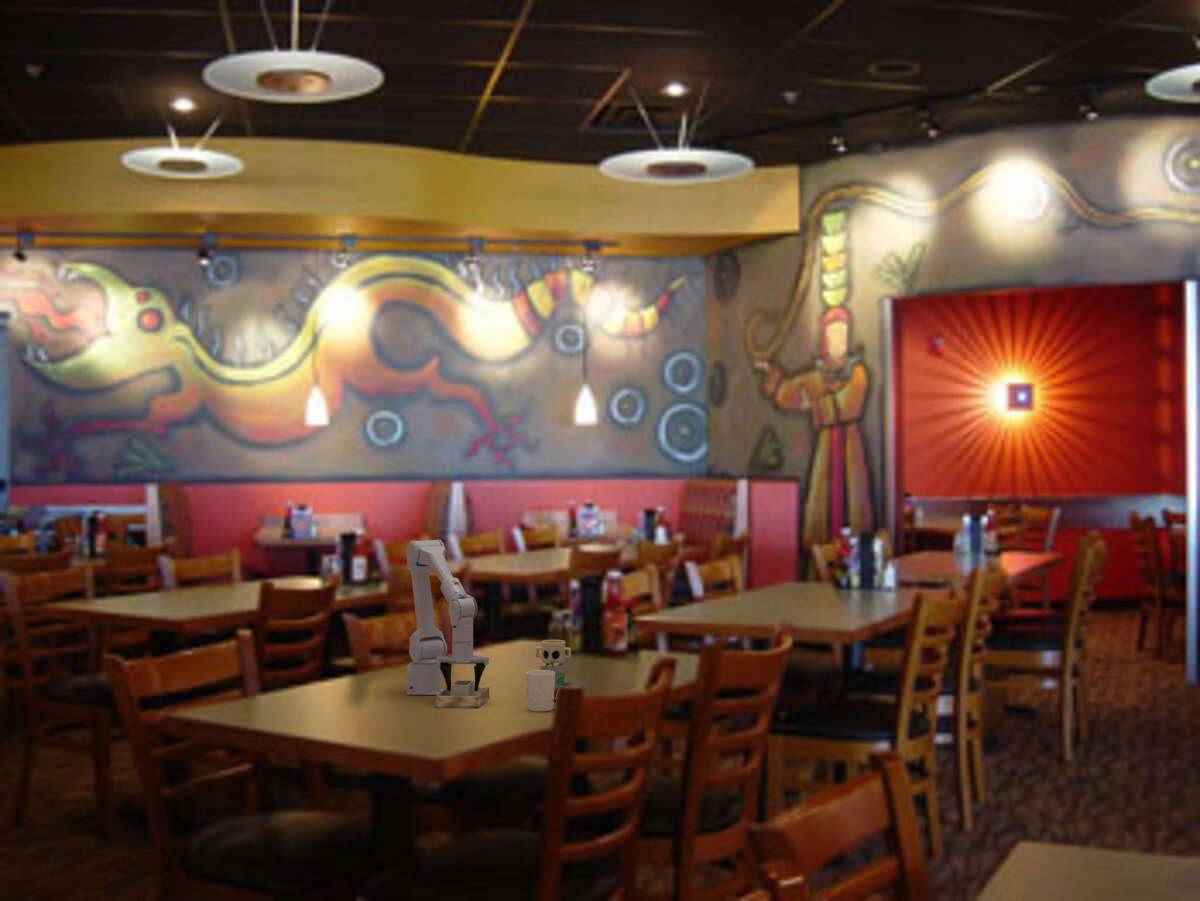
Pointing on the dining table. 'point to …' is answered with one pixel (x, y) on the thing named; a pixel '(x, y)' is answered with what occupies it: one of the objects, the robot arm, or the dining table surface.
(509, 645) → the dining table surface
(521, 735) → the dining table surface
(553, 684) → the white cup
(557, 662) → the food container
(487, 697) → the big crate
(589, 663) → the dining table surface
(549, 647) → the character mug
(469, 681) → the small crate
